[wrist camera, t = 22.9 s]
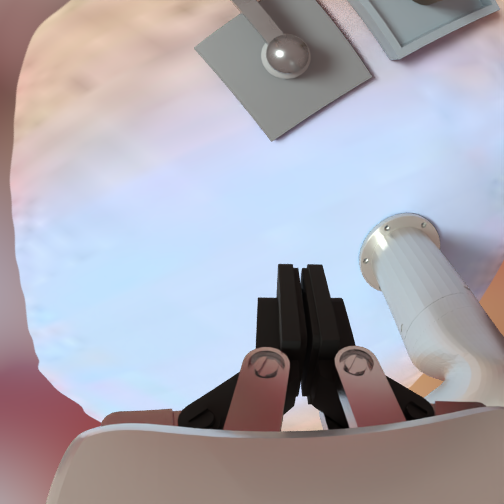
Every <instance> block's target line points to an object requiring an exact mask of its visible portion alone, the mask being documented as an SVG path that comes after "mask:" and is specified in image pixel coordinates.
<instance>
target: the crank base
mask: <svg viewBox="0 0 504 504" xmlns="http://www.w3.org/2000/svg"><path fill="white" fill-rule="evenodd" d="M258 3H259V4H260V5H261V7H262V8H263V9H264V10H265V11H266V13H267V14H268V15H269V16H270V17H271V19H272V20H273V21H274V22H275V24H276V25H277V26H278V27H279V29H280V30H281V31H282V32H283V34H284V35H294V36H296V37H298V38H300V39H301V40H302V41H304V43H305V44H306V45H307V47H308V50H309V59H308V62H307V64H306V65H305V67H304V68H303V69H301V70H300V71H298V72H295V73H291V74H283V73H279V72H277V71H275V70H274V69H273V68H271V66H270V65H269V64H268V62H267V58H266V50H267V47H268V45H267V44H266V42H265V41H264V40H263V39H262V37H261V36H260V35H259V34H258V32H257V31H256V30H255V29H254V28H253V26H252V25H251V24H250V23H249V22H248V20H247V19H246V18H245V17H244V16H243V14H242V13H241V14H239V15H238V16H236V17H235V18H234V19H232V20H231V21H229V22H228V23H226V24H225V25H224V26H222V27H221V28H219V29H218V30H217V31H215V32H214V33H213V34H211V35H210V36H209V37H207V38H206V39H205V40H203V41H202V42H201V43H199V44H198V45H197V46H196V47H194V49H195V50H196V51H197V52H198V54H199V55H200V56H201V57H202V58H203V59H204V60H205V61H206V63H207V64H208V65H209V66H210V67H211V68H212V69H213V71H214V72H215V73H216V74H217V75H218V76H219V78H220V79H221V80H222V81H223V82H224V83H225V85H226V86H227V87H228V88H229V89H230V91H231V92H232V93H233V94H234V95H235V97H236V98H237V99H238V100H239V101H240V103H241V104H242V105H243V106H244V108H245V109H246V110H247V111H248V113H249V114H250V115H251V116H252V118H253V119H254V120H255V121H256V123H257V124H258V125H259V126H260V128H261V129H262V130H263V131H264V133H265V134H266V135H267V137H268V138H269V139H270V140H271V142H272V141H274V140H275V139H277V138H278V137H279V136H281V135H282V134H284V133H285V132H287V131H288V130H290V129H291V128H293V127H294V126H296V125H297V124H299V123H300V122H302V121H303V120H305V119H306V118H308V117H309V116H311V115H312V114H314V113H315V112H317V111H318V110H320V109H321V108H323V107H324V106H326V105H328V104H329V103H331V102H332V101H334V100H335V99H337V98H339V97H340V96H342V95H343V94H345V93H347V92H348V91H350V90H351V89H353V88H355V87H356V86H358V85H360V84H361V83H363V82H365V81H366V80H368V79H370V78H371V77H372V75H371V74H370V72H369V71H368V69H367V68H366V66H365V65H364V63H363V62H362V60H361V59H360V58H359V56H358V55H357V53H356V52H355V50H354V49H353V48H352V46H351V45H350V43H349V42H348V41H347V39H346V38H345V37H344V35H343V34H342V33H341V31H340V30H339V29H338V27H337V26H336V25H335V24H334V22H333V21H332V20H331V18H330V17H329V16H328V15H327V14H326V12H325V11H324V10H323V9H322V7H321V6H320V5H319V4H318V3H317V1H316V0H261V1H259V2H258Z"/></svg>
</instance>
